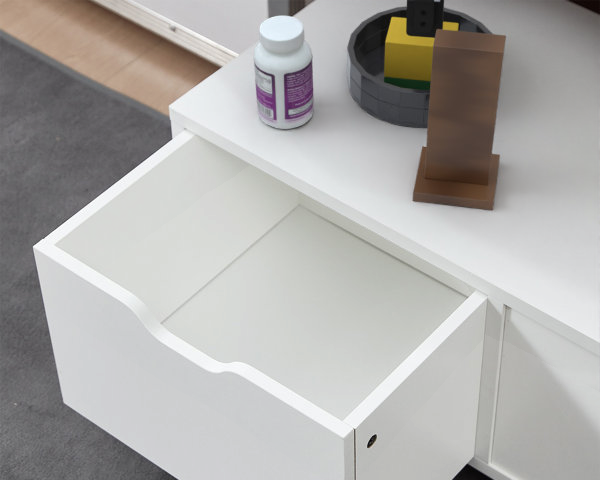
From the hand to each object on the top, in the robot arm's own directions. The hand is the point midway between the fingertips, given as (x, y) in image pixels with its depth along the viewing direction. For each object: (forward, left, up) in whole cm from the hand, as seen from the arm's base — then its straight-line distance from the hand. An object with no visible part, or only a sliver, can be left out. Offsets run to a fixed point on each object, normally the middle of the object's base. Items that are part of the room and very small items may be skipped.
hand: (431, 5), depth 113 cm
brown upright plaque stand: (-4, +14, -9) cm, 17 cm away
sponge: (+1, 0, -8) cm, 8 cm away
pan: (+1, 0, -9) cm, 9 cm away
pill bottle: (+13, +7, -9) cm, 17 cm away
